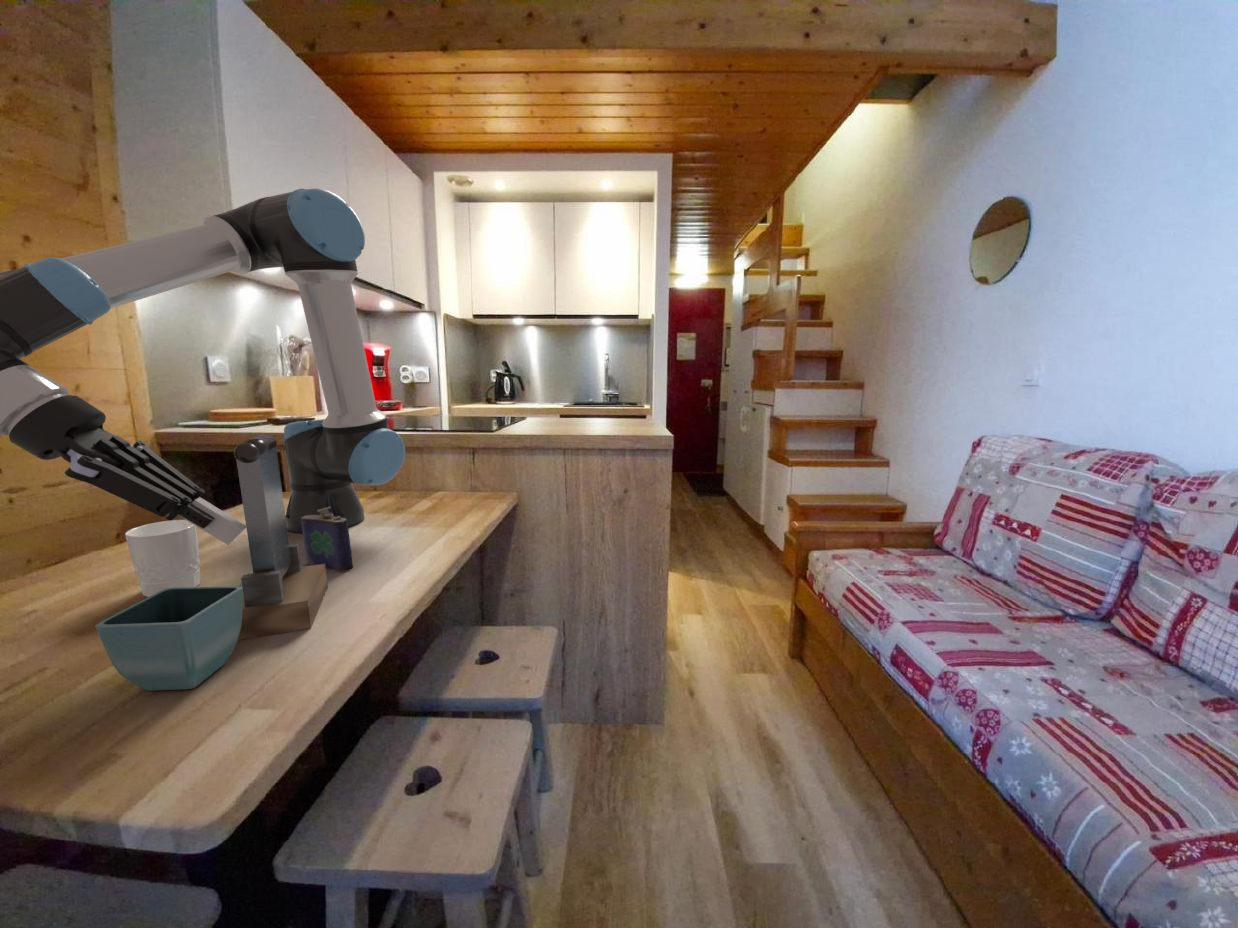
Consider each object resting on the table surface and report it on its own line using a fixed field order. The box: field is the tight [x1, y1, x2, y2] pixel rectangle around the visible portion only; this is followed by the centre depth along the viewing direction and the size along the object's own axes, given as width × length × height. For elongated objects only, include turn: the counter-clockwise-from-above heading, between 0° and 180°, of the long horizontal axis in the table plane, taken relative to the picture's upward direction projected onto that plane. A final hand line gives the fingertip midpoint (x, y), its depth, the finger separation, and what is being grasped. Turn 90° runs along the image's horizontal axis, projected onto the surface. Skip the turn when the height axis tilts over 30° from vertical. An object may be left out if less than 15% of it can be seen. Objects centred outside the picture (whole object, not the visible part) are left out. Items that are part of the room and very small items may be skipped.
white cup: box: [125, 519, 201, 598], centre depth 75 cm, size 8×8×10 cm
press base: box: [237, 543, 329, 641], centre depth 68 cm, size 10×13×8 cm
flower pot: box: [95, 585, 243, 691], centre depth 54 cm, size 9×9×9 cm
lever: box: [233, 433, 291, 578], centre depth 65 cm, size 3×9×21 cm, turn 22°
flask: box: [301, 507, 354, 572], centre depth 84 cm, size 9×3×11 cm, turn 74°
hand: (237, 535), depth 65 cm, fingers closed
